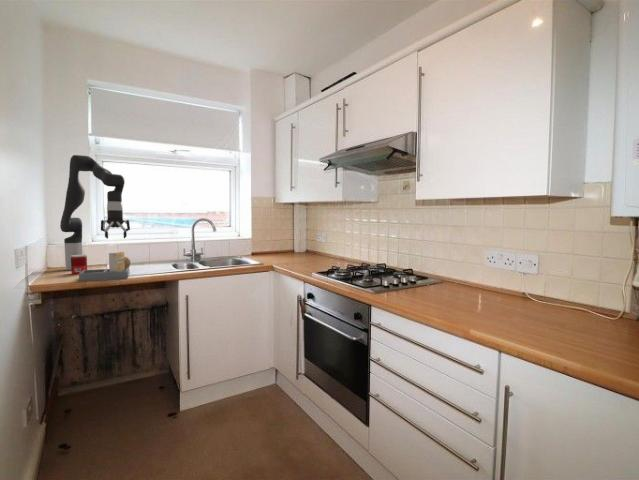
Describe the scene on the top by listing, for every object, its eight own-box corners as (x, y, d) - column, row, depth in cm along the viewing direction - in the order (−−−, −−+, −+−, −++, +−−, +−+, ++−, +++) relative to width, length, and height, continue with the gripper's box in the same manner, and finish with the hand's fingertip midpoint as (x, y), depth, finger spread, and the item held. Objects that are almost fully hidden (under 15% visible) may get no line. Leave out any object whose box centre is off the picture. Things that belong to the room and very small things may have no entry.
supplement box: (118, 276, 198) (117, 253, 197) (109, 276, 198) (108, 252, 197) (125, 273, 206) (124, 251, 205) (116, 273, 206) (116, 251, 205)
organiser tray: (83, 277, 201) (83, 270, 200) (129, 274, 210) (129, 267, 210) (79, 281, 189) (78, 273, 189) (127, 278, 198) (127, 271, 198)
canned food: (90, 273, 214) (89, 255, 213) (76, 275, 207) (75, 256, 206) (82, 272, 217) (81, 254, 216) (68, 274, 210) (67, 255, 209)
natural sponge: (113, 274, 211) (113, 257, 210) (114, 271, 219) (113, 255, 218) (130, 272, 215) (130, 256, 214) (130, 270, 223) (130, 255, 222)
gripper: (129, 209, 205) (130, 237, 207) (101, 209, 199) (102, 238, 201) (128, 209, 199) (129, 238, 200) (99, 209, 193) (100, 239, 194)
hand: (115, 238), depth 200 cm, fingers open, 8 cm apart
